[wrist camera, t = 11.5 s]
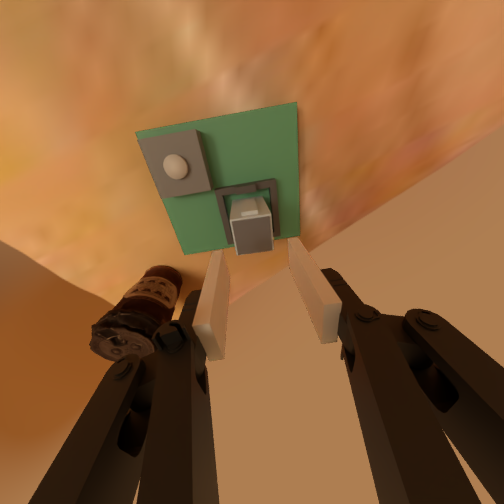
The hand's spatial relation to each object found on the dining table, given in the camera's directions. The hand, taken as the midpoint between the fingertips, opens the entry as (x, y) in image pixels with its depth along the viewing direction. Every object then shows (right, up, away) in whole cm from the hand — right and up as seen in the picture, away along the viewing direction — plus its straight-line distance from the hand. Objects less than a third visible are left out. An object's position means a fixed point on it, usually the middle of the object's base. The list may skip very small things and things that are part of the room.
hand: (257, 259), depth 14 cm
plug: (-1, +6, +11) cm, 13 cm away
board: (-3, +9, +11) cm, 15 cm away
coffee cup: (-16, -4, +18) cm, 25 cm away
